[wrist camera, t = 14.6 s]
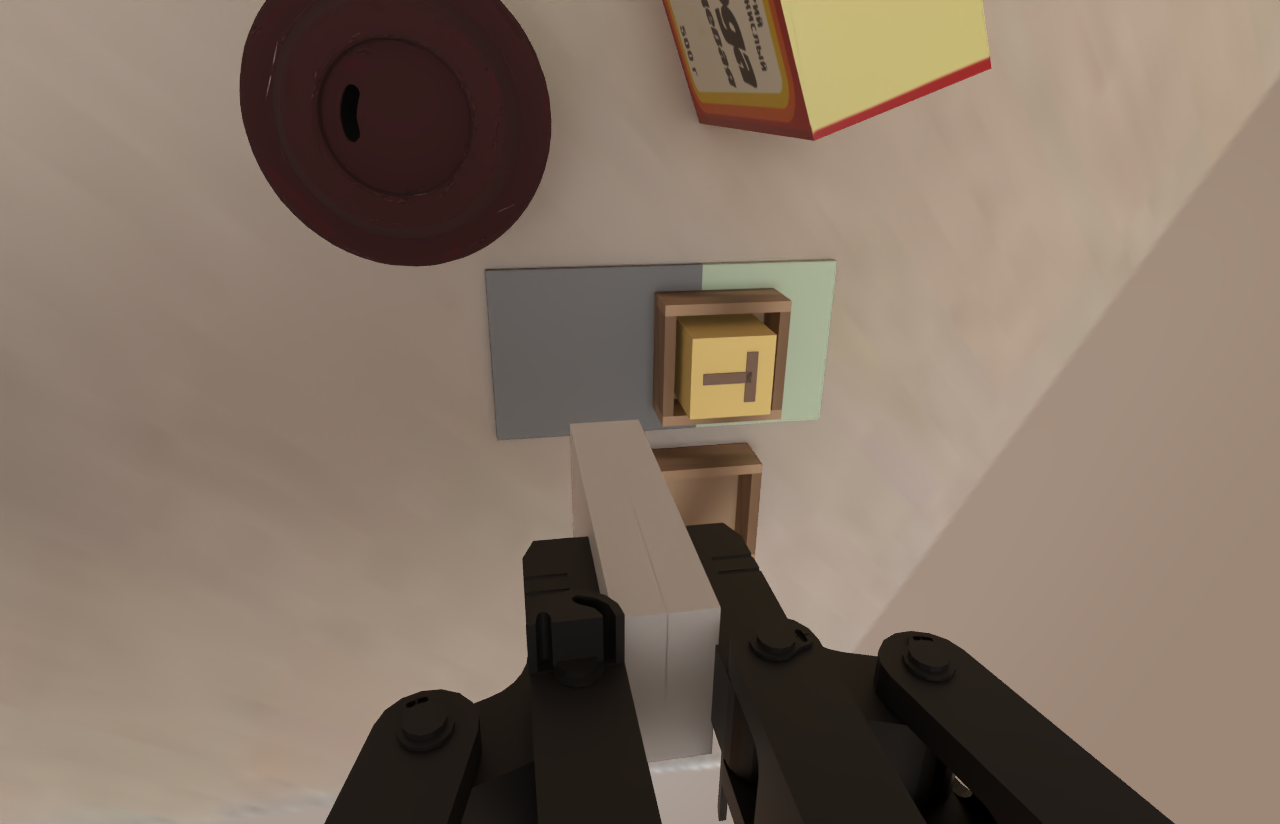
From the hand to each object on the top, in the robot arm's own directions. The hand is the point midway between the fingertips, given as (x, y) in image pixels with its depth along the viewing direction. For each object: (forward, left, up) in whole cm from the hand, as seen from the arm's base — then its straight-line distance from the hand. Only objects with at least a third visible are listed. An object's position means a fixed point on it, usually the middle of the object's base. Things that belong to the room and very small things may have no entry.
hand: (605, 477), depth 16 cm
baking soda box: (+10, +12, -27) cm, 31 cm away
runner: (+7, -6, -26) cm, 28 cm away
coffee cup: (-5, +7, -27) cm, 28 cm away
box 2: (+9, -16, -26) cm, 32 cm away
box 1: (+10, -6, -26) cm, 28 cm away
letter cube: (+9, -6, -26) cm, 28 cm away
